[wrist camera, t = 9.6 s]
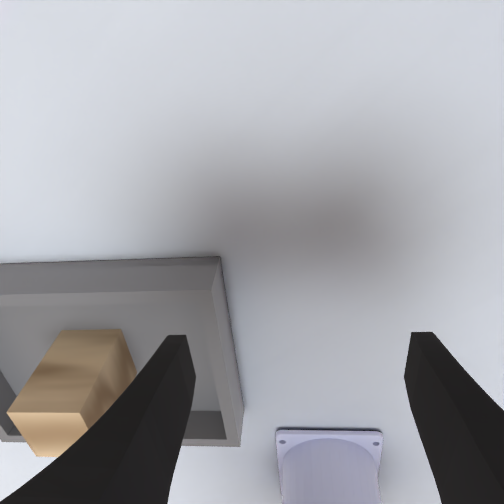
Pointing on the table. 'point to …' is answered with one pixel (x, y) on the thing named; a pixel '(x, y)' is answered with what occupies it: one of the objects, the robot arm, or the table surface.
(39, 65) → the table surface
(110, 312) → the tray
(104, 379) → the maple block
